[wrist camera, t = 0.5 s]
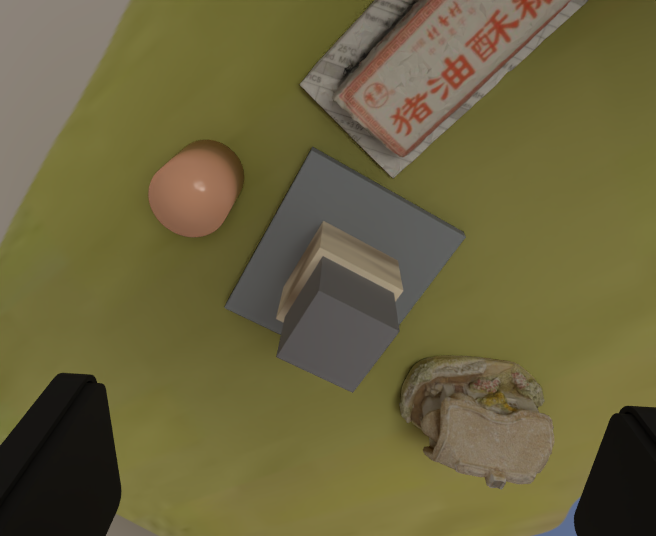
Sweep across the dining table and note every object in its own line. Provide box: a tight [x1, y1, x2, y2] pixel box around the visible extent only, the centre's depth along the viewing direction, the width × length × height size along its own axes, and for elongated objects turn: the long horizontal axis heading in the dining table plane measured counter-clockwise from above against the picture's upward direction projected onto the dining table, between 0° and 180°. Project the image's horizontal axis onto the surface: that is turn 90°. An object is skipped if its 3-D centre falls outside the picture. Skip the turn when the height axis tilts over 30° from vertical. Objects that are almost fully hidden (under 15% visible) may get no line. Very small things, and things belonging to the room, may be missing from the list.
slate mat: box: [225, 147, 466, 335], centre depth 44 cm, size 16×14×1 cm
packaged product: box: [300, 0, 588, 178], centre depth 34 cm, size 18×5×10 cm
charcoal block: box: [276, 256, 399, 393], centre depth 37 cm, size 6×6×5 cm
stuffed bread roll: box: [399, 355, 554, 489], centre depth 46 cm, size 14×11×10 cm
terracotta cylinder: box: [148, 140, 244, 237], centre depth 38 cm, size 6×6×6 cm
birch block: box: [276, 221, 403, 323], centre depth 41 cm, size 7×7×5 cm
